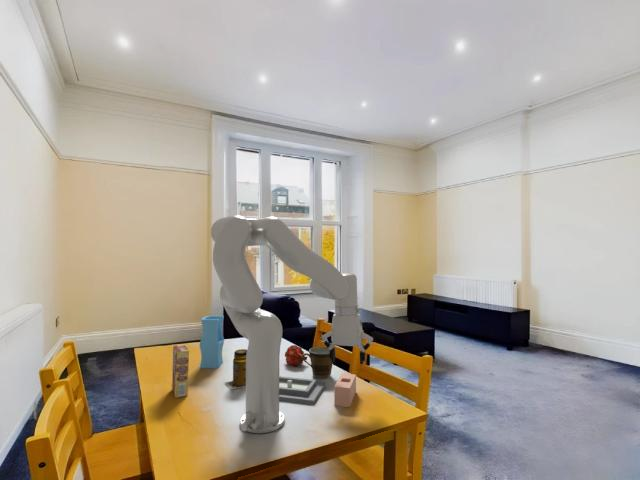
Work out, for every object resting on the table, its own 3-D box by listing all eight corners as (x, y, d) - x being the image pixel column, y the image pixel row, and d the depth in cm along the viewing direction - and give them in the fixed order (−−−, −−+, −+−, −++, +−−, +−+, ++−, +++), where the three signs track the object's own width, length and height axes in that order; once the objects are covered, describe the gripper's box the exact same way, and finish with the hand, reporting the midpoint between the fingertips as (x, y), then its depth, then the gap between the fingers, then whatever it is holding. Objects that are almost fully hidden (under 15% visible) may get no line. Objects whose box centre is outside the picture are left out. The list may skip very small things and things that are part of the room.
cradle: (313, 404, 113) (313, 393, 113) (250, 396, 119) (250, 386, 119) (325, 385, 128) (325, 375, 128) (269, 379, 134) (269, 370, 134)
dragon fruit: (290, 363, 158) (302, 375, 147) (276, 354, 154) (287, 366, 143) (301, 346, 159) (313, 358, 149) (288, 338, 156) (299, 349, 145)
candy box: (189, 395, 119) (189, 350, 120) (175, 398, 117) (175, 352, 117) (184, 386, 127) (185, 343, 127) (171, 389, 125) (172, 345, 125)
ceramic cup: (328, 370, 144) (328, 345, 145) (338, 378, 135) (338, 352, 135) (298, 374, 140) (298, 348, 140) (306, 383, 130) (306, 356, 131)
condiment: (253, 385, 129) (253, 351, 129) (231, 390, 124) (231, 355, 124) (246, 378, 135) (246, 347, 135) (224, 383, 130) (224, 350, 130)
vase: (218, 368, 146) (218, 319, 147) (199, 368, 147) (199, 319, 147) (223, 361, 154) (224, 315, 155) (205, 361, 154) (206, 315, 155)
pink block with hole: (349, 407, 111) (349, 388, 111) (334, 405, 112) (334, 386, 112) (355, 392, 123) (355, 374, 123) (341, 390, 124) (341, 373, 124)
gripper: (373, 309, 119) (374, 360, 119) (323, 307, 124) (324, 356, 124) (370, 313, 112) (372, 367, 112) (318, 312, 117) (319, 364, 117)
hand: (347, 362), depth 118 cm, fingers open, 9 cm apart
